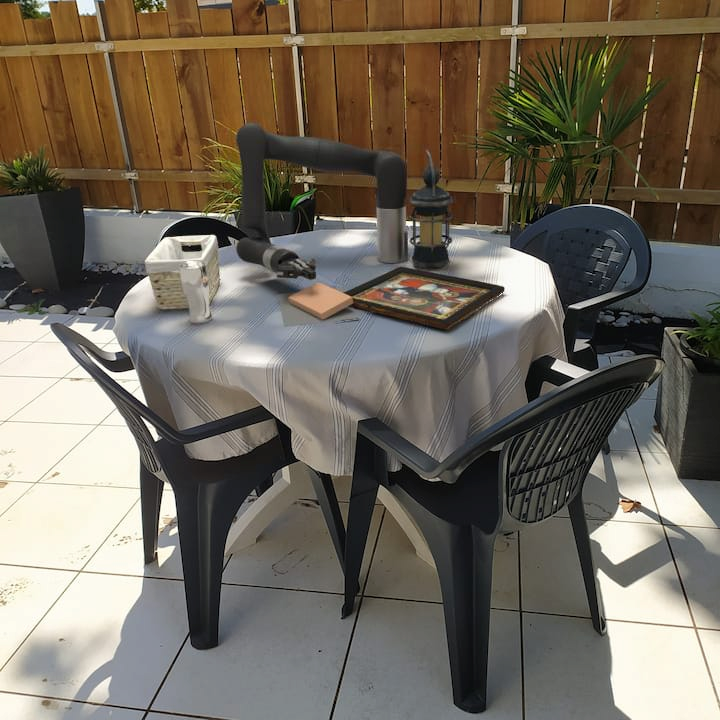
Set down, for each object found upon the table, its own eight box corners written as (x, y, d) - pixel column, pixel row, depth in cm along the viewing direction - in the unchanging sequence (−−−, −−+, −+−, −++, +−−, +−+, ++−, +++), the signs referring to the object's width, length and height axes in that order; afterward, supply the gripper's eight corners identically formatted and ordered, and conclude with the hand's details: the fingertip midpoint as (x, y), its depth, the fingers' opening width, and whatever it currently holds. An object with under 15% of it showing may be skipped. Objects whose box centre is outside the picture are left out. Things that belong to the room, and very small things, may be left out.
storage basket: (211, 310, 178) (203, 257, 172) (151, 313, 178) (141, 260, 172) (224, 281, 200) (218, 233, 193) (171, 283, 200) (163, 236, 193)
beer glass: (217, 314, 175) (209, 260, 168) (209, 324, 169) (201, 268, 162) (192, 314, 176) (183, 260, 169) (183, 324, 170) (174, 269, 163)
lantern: (454, 272, 198) (457, 152, 183) (410, 273, 199) (409, 154, 183) (449, 257, 211) (451, 144, 196) (408, 259, 212) (407, 146, 196)
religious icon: (509, 288, 183) (510, 279, 182) (460, 335, 156) (461, 324, 155) (389, 271, 201) (389, 262, 200) (327, 310, 174) (326, 300, 173)
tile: (288, 297, 177) (321, 313, 166) (317, 282, 182) (351, 296, 170) (290, 303, 178) (323, 320, 167) (319, 288, 183) (353, 303, 171)
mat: (343, 289, 189) (343, 287, 188) (358, 320, 167) (358, 318, 167) (277, 296, 186) (277, 294, 185) (284, 328, 164) (284, 326, 164)
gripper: (259, 253, 181) (290, 267, 169) (299, 243, 188) (333, 257, 175) (261, 279, 185) (293, 295, 172) (301, 268, 191) (334, 283, 179)
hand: (313, 275), depth 174 cm, fingers closed
